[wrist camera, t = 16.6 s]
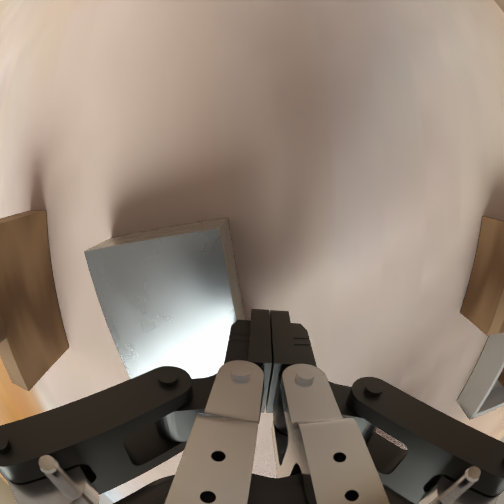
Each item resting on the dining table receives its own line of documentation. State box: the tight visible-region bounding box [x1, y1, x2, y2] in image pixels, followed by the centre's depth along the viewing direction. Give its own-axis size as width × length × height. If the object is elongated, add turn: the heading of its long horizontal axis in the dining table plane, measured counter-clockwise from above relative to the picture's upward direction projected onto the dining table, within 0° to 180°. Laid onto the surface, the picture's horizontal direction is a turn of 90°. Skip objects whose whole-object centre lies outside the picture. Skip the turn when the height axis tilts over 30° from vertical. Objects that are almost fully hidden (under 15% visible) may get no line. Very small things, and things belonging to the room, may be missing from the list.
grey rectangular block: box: [84, 218, 246, 379], centre depth 12 cm, size 7×6×3 cm
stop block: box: [0, 211, 69, 391], centre depth 10 cm, size 9×2×7 cm, turn 176°
